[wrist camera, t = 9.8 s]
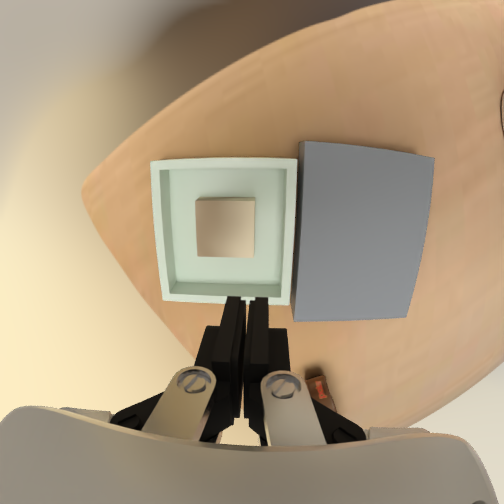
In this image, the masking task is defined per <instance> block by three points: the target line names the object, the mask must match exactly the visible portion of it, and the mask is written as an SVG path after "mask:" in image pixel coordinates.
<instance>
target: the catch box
mask: <svg viewBox="0 0 504 504" xmlns="http://www.w3.org/2000/svg"><path fill="white" fill-rule="evenodd" d="M150 166H151V189H152V205H153V219H154V230H155V241H156V250H157V259H158V268H159V276H160V283H161V290H162V297H163V300H165V301H180V302H198V303H219V304H226V300H227V296H241V300H246V304H250V300H255V297H268V305H289V301H290V289H291V275H292V261H293V245H294V228H295V208H296V184H297V159H294V158H274V157H206V158H181V159H164V160H156V161H150ZM199 197H255V243H254V258H233V257H198V256H197V240H196V217H195V200H197V199H198V198H199Z"/></svg>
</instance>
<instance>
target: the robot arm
mask: <svg viewBox="0 0 504 504" xmlns="http://www.w3.org/2000/svg"><path fill="white" fill-rule="evenodd" d="M502 123H503V129H504V94H503V98H502ZM243 389H244V418H249V427H250V428H251V429H252V430H254V431H255V432H256V433H257V434H258V441H259V446H242V445H228V444H219V443H220V440H221V437H222V431H223V430H224V429H226V428H228V427H229V426H231V425H233V424H234V418H239V417H240V409H241V400H242V390H243ZM0 504H498V500H497V497H496V494H495V491H494V488H493V486H492V483H491V481H490V478H489V476H488V474H487V471H486V469H485V467H484V465H483V463H482V461H481V459H480V458H479V456H478V454H477V453H476V451H475V450H474V448H473V447H472V446H471V445H470V444H469V443H468V442H467V441H465V440H464V439H462V438H460V437H458V436H454V435H449V434H439V433H430V432H429V431H427V430H425V429H423V428H378V427H370V428H369V430H363V429H362V428H361V427H359V426H358V425H357V424H355V423H353V422H352V421H350V420H348V419H346V418H345V417H343V416H341V415H339V414H338V413H336V412H334V411H333V410H331V409H329V408H328V407H326V406H325V405H323V404H321V403H320V402H318V401H316V400H315V399H313V398H312V397H310V394H309V392H308V389H307V386H306V383H305V381H304V380H303V378H302V377H300V376H299V375H298V374H296V373H294V372H291V371H290V359H289V348H288V337H287V329H286V328H269V308H268V297H255V300H250V304H249V313H248V323H247V332H246V300H241V296H227V300H226V304H225V308H224V312H223V316H222V320H221V324H220V326H206V329H205V332H204V335H203V338H202V341H201V345H200V348H199V351H198V354H197V358H196V361H195V364H194V366H192V367H186V368H183V369H181V370H180V371H178V372H177V373H176V374H175V375H174V376H173V378H172V380H171V381H170V383H169V385H168V387H167V388H166V390H165V391H164V392H162V393H160V394H158V395H155V396H153V397H151V398H149V399H146V400H144V401H142V402H140V403H137V404H135V405H132V406H130V407H128V408H125V409H123V410H121V411H119V412H117V413H116V414H115V415H114V414H111V413H110V411H97V410H86V409H77V408H69V407H64V408H60V409H57V408H52V407H45V406H24V407H19V408H16V409H14V410H13V411H11V412H10V413H9V414H8V415H7V416H6V417H5V418H4V419H3V420H2V421H1V422H0Z"/></svg>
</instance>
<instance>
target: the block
mask: <svg viewBox="0 0 504 504" xmlns="http://www.w3.org/2000/svg"><path fill="white" fill-rule="evenodd" d="M195 217H196V240H197V256H198V257H233V258H254V243H255V197H199V198H198V199H197V200H195Z"/></svg>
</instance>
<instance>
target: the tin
mask: <svg viewBox="0 0 504 504" xmlns="http://www.w3.org/2000/svg"><path fill="white" fill-rule="evenodd" d="M305 383H306V386H307V389H308V392H309V394H310V397H312V398H313V399H315V400H316V401H318V402H320V403H321V404H323V405H325V406H326V407H328V408H329V409H331V410H333V411H334V412H336V413H337V410H336V407H335V404H334V401H333V399H332V397H331V395H330V393H329V390H328V386H327V383H326V377H325V376H323V375H322V376H318V377H315V378H312V379H308V380H305Z"/></svg>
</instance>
